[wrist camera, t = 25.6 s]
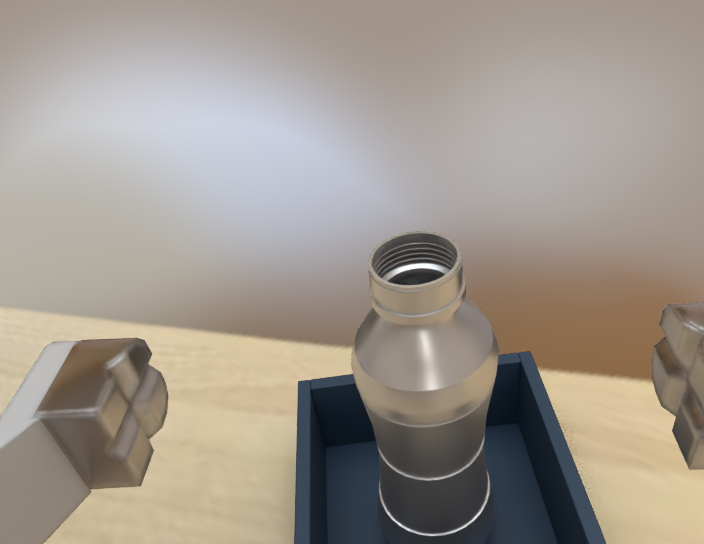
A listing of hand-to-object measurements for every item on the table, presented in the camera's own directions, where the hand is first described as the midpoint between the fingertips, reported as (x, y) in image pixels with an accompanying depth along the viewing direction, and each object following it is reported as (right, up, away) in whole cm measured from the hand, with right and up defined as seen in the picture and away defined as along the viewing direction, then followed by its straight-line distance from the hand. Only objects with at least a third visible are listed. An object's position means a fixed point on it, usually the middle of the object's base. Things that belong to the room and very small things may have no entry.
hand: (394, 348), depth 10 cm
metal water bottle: (+4, -14, +26) cm, 30 cm away
